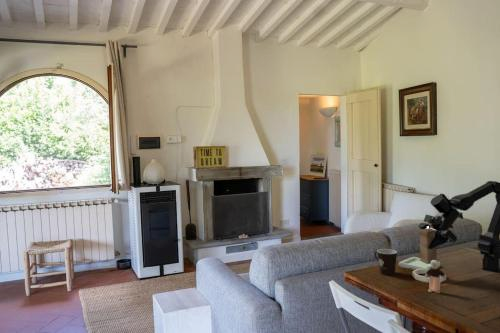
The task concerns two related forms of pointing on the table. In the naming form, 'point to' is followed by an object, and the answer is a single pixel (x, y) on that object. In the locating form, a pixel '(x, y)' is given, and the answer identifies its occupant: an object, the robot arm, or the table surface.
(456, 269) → the table surface
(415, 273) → the ring dish
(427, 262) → the walnut post
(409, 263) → the tray
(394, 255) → the coffee mug
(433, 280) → the grandmother figurine
